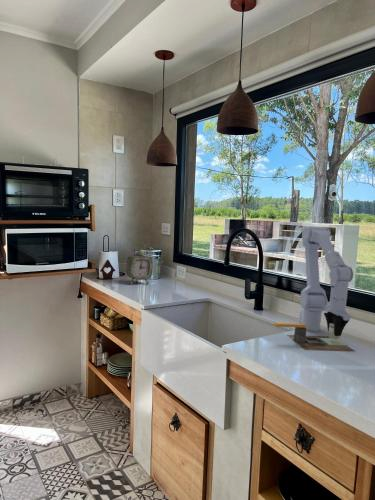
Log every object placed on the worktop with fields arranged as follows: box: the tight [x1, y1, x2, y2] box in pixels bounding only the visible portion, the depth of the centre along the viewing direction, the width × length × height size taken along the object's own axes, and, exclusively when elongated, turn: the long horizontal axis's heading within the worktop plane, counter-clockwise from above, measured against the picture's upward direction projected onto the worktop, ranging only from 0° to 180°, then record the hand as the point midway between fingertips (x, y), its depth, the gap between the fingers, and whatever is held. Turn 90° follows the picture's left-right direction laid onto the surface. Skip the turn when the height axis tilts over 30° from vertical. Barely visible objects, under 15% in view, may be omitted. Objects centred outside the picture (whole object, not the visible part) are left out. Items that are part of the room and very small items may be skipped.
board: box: [286, 327, 356, 352], centre depth 136 cm, size 16×19×6 cm
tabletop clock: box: [125, 243, 154, 286], centre depth 226 cm, size 14×9×25 cm, turn 119°
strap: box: [274, 321, 307, 328], centre depth 134 cm, size 2×12×1 cm, turn 98°
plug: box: [327, 323, 341, 340], centre depth 138 cm, size 4×4×5 cm
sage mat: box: [320, 338, 348, 346], centre depth 138 cm, size 7×7×1 cm
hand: (334, 333), depth 138 cm, fingers closed on plug, 4 cm apart
